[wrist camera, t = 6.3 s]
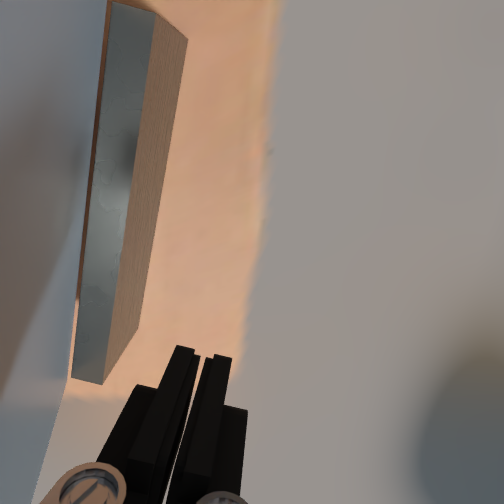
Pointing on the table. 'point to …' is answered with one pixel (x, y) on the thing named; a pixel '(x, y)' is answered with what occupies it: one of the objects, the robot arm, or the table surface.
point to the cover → (41, 215)
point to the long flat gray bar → (126, 183)
